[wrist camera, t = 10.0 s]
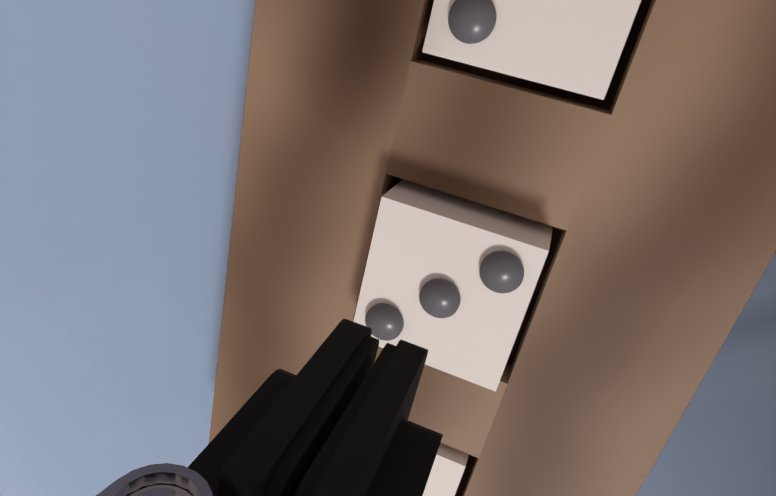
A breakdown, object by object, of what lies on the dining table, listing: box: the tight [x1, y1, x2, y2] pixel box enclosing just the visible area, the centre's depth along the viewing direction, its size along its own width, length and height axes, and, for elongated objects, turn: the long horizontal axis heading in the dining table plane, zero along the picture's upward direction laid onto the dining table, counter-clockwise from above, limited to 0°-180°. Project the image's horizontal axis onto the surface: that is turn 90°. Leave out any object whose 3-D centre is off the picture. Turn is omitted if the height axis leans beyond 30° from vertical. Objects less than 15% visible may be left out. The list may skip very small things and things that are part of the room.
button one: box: [423, 443, 469, 496], centre depth 20 cm, size 4×4×3 cm
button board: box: [209, 0, 776, 496], centre depth 17 cm, size 14×28×4 cm, turn 167°
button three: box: [353, 179, 553, 392], centre depth 16 cm, size 4×4×3 cm
